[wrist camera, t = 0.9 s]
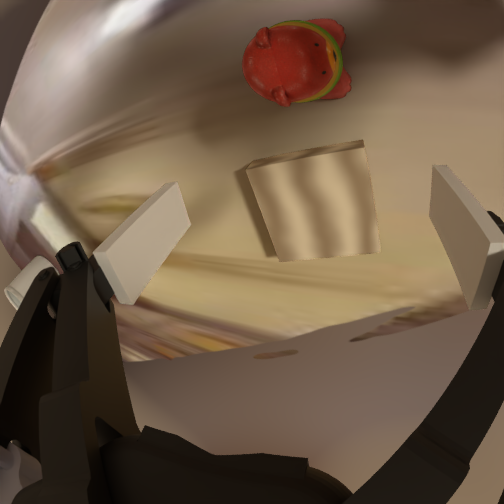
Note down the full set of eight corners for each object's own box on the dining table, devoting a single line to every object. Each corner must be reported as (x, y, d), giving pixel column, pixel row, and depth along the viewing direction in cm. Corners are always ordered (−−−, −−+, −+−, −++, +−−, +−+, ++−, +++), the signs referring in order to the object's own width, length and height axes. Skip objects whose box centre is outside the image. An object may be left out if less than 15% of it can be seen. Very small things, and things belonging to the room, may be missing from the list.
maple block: (362, 138, 36) (364, 147, 33) (379, 236, 44) (380, 252, 41) (253, 159, 43) (245, 170, 40) (284, 247, 51) (279, 262, 48)
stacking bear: (353, 98, 33) (358, 133, 19) (275, 101, 36) (226, 139, 23) (342, 18, 26) (340, -10, 13) (262, 25, 30) (199, 12, 16)
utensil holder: (70, 288, 86) (40, 325, 73) (52, 287, 92) (24, 320, 79) (47, 252, 78) (12, 289, 65) (30, 255, 84) (-1, 288, 71)
